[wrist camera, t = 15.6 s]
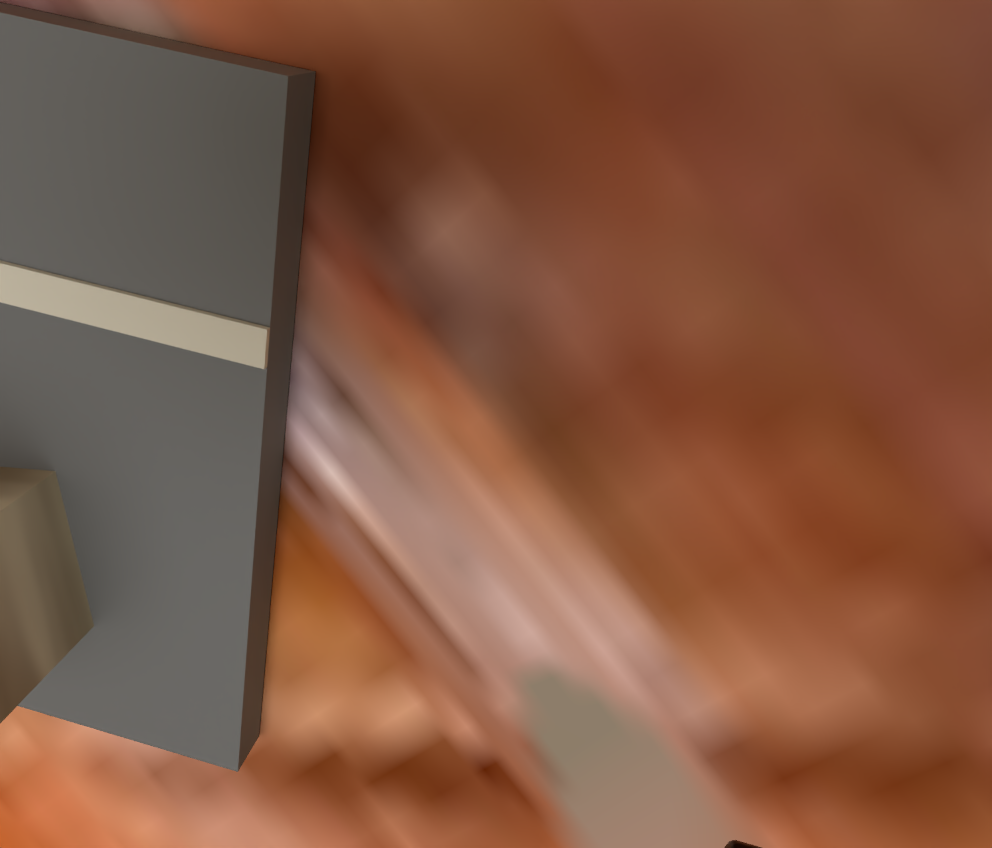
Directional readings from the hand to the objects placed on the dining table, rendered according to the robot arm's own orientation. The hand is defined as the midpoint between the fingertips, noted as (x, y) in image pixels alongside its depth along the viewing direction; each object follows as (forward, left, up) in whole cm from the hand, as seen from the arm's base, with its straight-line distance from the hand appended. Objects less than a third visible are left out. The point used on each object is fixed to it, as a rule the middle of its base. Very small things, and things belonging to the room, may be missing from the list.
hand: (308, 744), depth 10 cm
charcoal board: (+12, +5, -13) cm, 18 cm away
